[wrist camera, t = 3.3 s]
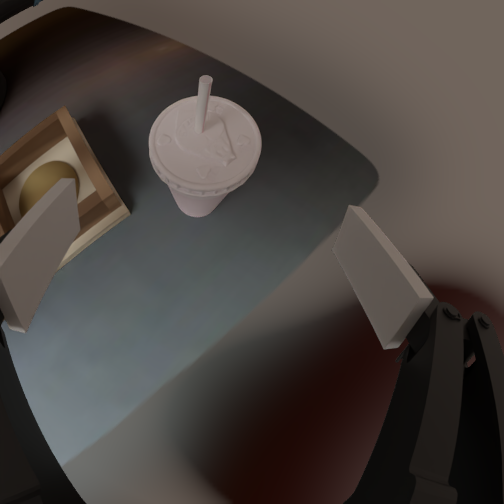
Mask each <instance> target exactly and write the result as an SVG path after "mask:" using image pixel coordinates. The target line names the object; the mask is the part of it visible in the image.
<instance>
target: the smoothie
mask: <svg viewBox="0 0 504 504" xmlns="http://www.w3.org/2000/svg"><path fill="white" fill-rule="evenodd" d="M211 86H212V77H210V76H208V75H204V76H202V77H200V80H199V89H198V96H193V97H188V98H185V99H182V100H179V101H177V102H175V103H173V104H172V105H170V106H169V107H167V108H166V109H165V110H164V111H163V112H162V113H161V114H160V115H159V116H158V117H157V119H156V120H155V122H154V124H153V126H152V128H151V131H150V135H149V157H150V160H151V163H152V166H153V169H154V170H155V172H156V173H157V174H158V176H159V177H160V179H161V180H162V181H164V182H165V183H166V184H167V185H168V187H169V189H170V191H171V193H172V195H173V197H174V199H175V201H176V203H177V205H178V207H179V208H180V210H181V211H182V212H184V213H185V214H187V215H189V216H192V217H203V216H206V215H208V214H210V213H211V212H212V211H213V210H214V209H215V208H216V207H217V206H218V204H219V203H220V202H221V201H222V200H223V199H224V197H225V196H226V195H227V194H228V193H229V192H231V191H233V190H234V189H236V188H237V187H239V186H240V185H242V184H243V183H245V181H246V180H247V179H248V178H249V177H250V176H251V174H252V173H253V171H254V169H255V167H256V165H257V163H258V159H259V156H260V153H261V146H262V142H261V135H260V131H259V128H258V126H257V124H256V122H255V121H254V119H253V118H252V117H251V115H250V114H249V113H248V112H247V111H246V110H245V109H243V108H242V107H241V106H239V105H238V104H236V103H234V102H232V101H230V100H227V99H224V98H221V97H216V96H210V91H211Z"/></svg>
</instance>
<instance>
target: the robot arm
mask: <svg viewBox="0 0 504 504" xmlns="http://www.w3.org/2000/svg"><path fill="white" fill-rule="evenodd" d="M41 1H43V0H0V24H1V23H2V22H4V21H5V20H7V19H9V18H10V17H12V16H14V15H16V14H18V13H19V12H21V11H23V10H25V9H27V8H29V7H31V6H33V7H34V6H36V5H38V3H39V2H41ZM6 89H7V83H6V79H5V77H4V76H3V74H2V72H1V71H0V109H1V106H2V104H3V101H4V98H5V95H6ZM79 231H80V223H79V215H78V207H77V197H76V186H75V178H61V179H60V180H59V181H58V182H57V183H56V184H55V185H54V186H53V187H52V188H51V189H50V190H49V191H48V192H47V193H46V194H45V195H44V196H43V197H42V198H41V199H40V200H39V201H38V202H37V203H36V204H35V205H34V206H33V207H32V208H31V209H30V210H29V211H28V212H27V213H26V215H25V216H24V217H23V218H22V219H21V220H20V221H19V222H18V223H17V225H16V226H15V227H14V228H13V229H10V230H9V231H8V232H6V233H5V234H4V235H2V236H1V237H0V504H86V503H85V502H84V501H83V499H82V498H81V497H80V495H79V494H78V492H77V491H76V489H75V488H74V487H73V485H72V484H71V482H70V481H69V479H68V478H67V476H66V474H65V473H64V471H63V470H62V468H61V466H60V465H59V463H58V461H57V460H56V458H55V456H54V454H53V453H52V451H51V449H50V447H49V445H48V444H47V442H46V440H45V438H44V436H43V434H42V432H41V430H40V428H39V426H38V424H37V422H36V420H35V417H34V415H33V413H32V411H31V409H30V406H29V404H28V402H27V399H26V397H25V394H24V392H23V389H22V387H21V384H20V381H19V379H18V376H17V373H16V370H15V367H14V364H13V361H12V358H11V355H10V352H9V348H8V345H7V341H6V338H5V334H4V331H3V329H2V327H1V324H2V322H3V320H4V318H5V320H6V322H7V324H8V326H9V328H10V330H14V331H18V332H22V333H26V332H27V330H28V328H29V325H30V323H31V321H32V319H33V316H34V314H35V312H36V310H37V308H38V306H39V304H40V301H41V299H42V297H43V295H44V293H45V291H46V289H47V287H48V285H49V284H50V282H51V280H52V278H53V276H54V274H55V272H56V270H57V269H58V267H59V265H60V263H61V261H62V260H63V258H64V256H65V254H66V253H67V251H68V249H69V248H70V246H71V244H72V243H73V241H74V239H75V238H76V236H77V235H78V233H79ZM332 251H333V253H334V255H335V257H336V258H337V260H338V262H339V264H340V265H341V267H342V269H343V271H344V273H345V275H346V276H347V278H348V280H349V282H350V284H351V285H352V287H353V289H354V291H355V293H356V295H357V297H358V299H359V301H360V303H361V304H362V306H363V308H364V310H365V312H366V314H367V316H368V318H369V320H370V322H371V324H372V326H373V328H374V330H375V332H376V334H377V336H378V338H379V340H380V342H381V344H382V346H383V348H384V349H390V348H398V347H399V346H400V344H401V343H402V342H403V340H404V339H405V338H407V340H408V342H409V344H408V346H407V347H406V348H405V350H404V351H403V352H402V353H401V354H400V355H399V357H398V358H397V360H396V362H398V361H399V360H400V359H402V358H403V359H402V363H401V367H400V371H399V375H398V378H397V382H396V385H395V389H394V392H393V396H392V399H391V402H390V405H389V408H388V411H387V414H386V417H385V420H384V423H383V426H382V428H381V431H380V434H379V437H378V439H377V442H376V444H375V447H374V449H373V452H372V454H371V456H370V459H369V461H368V464H367V466H366V468H365V471H364V473H363V475H362V477H361V479H360V481H359V483H358V485H357V487H356V489H355V491H354V493H353V494H352V495H351V496H350V497H349V498H348V499H347V500H346V501H345V502H344V503H343V504H504V356H503V352H502V349H501V346H500V343H499V340H498V337H497V334H496V332H495V329H494V326H493V324H492V322H491V321H490V319H489V318H488V316H486V315H485V314H483V313H481V312H474V314H473V315H472V316H471V318H470V319H469V320H467V319H464V318H462V316H461V314H460V313H459V311H458V310H457V309H456V308H455V307H454V306H452V305H451V304H449V303H446V302H441V303H439V301H438V300H437V299H436V297H435V296H434V294H433V293H432V292H431V290H430V289H429V287H428V286H427V285H426V283H424V282H423V279H422V278H421V277H420V276H419V274H418V273H417V271H416V270H415V269H414V268H413V266H411V265H410V264H409V263H408V262H407V261H406V260H405V259H404V257H403V256H402V255H401V253H399V251H398V250H397V248H396V247H395V246H394V245H393V243H392V242H391V241H390V240H389V239H388V237H387V236H386V235H385V234H384V233H383V231H382V230H381V229H380V228H379V227H378V226H377V224H376V223H375V222H374V221H373V220H372V219H371V218H370V216H369V215H368V214H367V213H366V212H365V211H364V210H363V209H362V207H357V206H352V205H349V206H348V209H347V211H346V214H345V217H344V220H343V222H342V225H341V228H340V230H339V233H338V236H337V238H336V241H335V244H334V246H333V249H332ZM474 355H475V357H476V361H475V362H474V363H473V364H472V365H471V366H470V367H468V366H467V362H468V361H469V360H470V359H471V358H472V356H474Z"/></svg>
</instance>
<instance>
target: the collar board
mask: <svg viewBox="0 0 504 504" xmlns="http://www.w3.org/2000/svg"><path fill="white" fill-rule="evenodd" d="M61 178H75V186H76V197H77V207H78V215H79V223H80V231H79V233H78V235H77V236H76V238H75V239H74V241H73V243H72V244H71V246H70V248H69V249H68V251H67V253H66V254H65V256H64V258H63V260H62V261H61V263H60V265H59V267H58V269H57V270H56V272H57V271H58V270H59V269H61V268H62V267H63V266H64V265H65V264H67V263H68V262H69V261H70V260H72V259H73V258H74V257H75V256H76V255H78V254H79V253H80V252H81V251H83V250H84V249H85V248H86V247H88V246H89V245H90V244H92V243H93V242H94V241H95V240H97V239H98V238H99V237H101V236H102V235H103V234H105V233H106V232H107V231H109V230H110V229H111V228H113V227H114V226H115V225H117V224H118V223H120V222H121V221H122V220H124V219H125V218H126V217H128V216H129V215H131V214H130V212H129V210H128V209H127V207H126V206H125V204H124V203H123V201H122V199H121V198H120V196H119V195H118V193H117V191H116V190H115V188H114V186H113V185H112V183H111V182H110V180H109V178H108V177H107V175H106V173H105V172H104V170H103V168H102V166H101V165H100V163H99V161H98V160H97V158H96V156H95V154H94V153H93V151H92V149H91V147H90V146H89V144H88V142H87V140H86V138H85V137H84V135H83V133H82V131H81V129H80V127H79V126H78V124H77V122H76V120H75V118H74V117H73V118H71V116H70V114H69V112H68V110H67V108H66V106H63V107H62V108H60V109H59V110H57V111H56V112H55V113H53V114H52V115H50V116H49V117H48V118H46V119H45V120H43V121H42V122H41V123H39V124H38V125H37V126H35V127H34V128H33V129H32V130H30V131H29V132H28V133H26V134H25V135H24V136H23V137H22V138H20V139H19V140H18V141H17V142H16V143H14V144H13V145H12V146H11V147H10V148H9V149H7V150H6V151H5V152H4V153H3V154H2V155H1V156H0V237H1V236H2V235H4V234H5V233H6V232H8V231H9V230H10V229H13V228H14V227H15V226H16V225H17V223H18V222H19V221H20V220H21V219H22V218H23V217H24V216H25V215H26V213H27V212H28V211H29V210H30V209H31V208H32V207H33V206H34V205H35V204H36V203H37V202H38V201H39V200H40V199H41V198H42V197H43V196H44V195H45V194H46V193H47V192H48V191H49V190H50V189H51V188H52V187H53V186H54V185H55V184H56V183H57V182H58V181H59V180H60V179H61ZM56 272H55V273H56ZM4 320H5V318H4ZM4 320H3V321H4Z"/></svg>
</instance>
